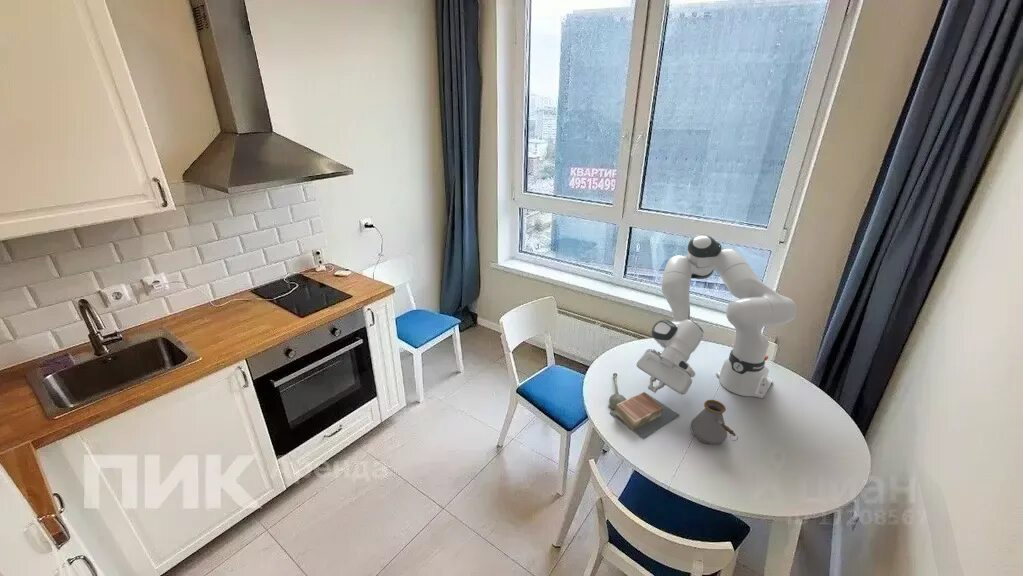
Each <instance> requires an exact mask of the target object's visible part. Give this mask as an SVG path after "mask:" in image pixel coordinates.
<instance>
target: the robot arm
mask: <svg viewBox="0 0 1023 576" xmlns="http://www.w3.org/2000/svg"><path fill="white" fill-rule="evenodd" d="M714 271H715V272H716V273H717V274H718V275H719V277H720V279H721V280H722V282H723V284H724V285H725V287H726V288H727V290H728V291H729V294H731V296H733V297H735V298H737V299H735V300H731V301H730V302H729V303H728V304H727V306H726V309H725V315H726V318H727V321H728V322H729V323H730V325H732V326H733V327H734V329H735V340H734V343H733V347H732V349H731V351H730V352H729V355H728V358H726V359H725V360H724V361H723V364H722V367H721V370H718V371H716V376H717V378H718V379H719V383H720V384H721V386H723V388H724V389H726V390H727V391H729V392H731V393H733V394H736V395H739V396H744V397H756V398H760V399H761V398H762V399H763V398H764V397H765V396H766V394H767V392H768V391H769V389H770V387H771V386H770V385H772V384H773V379H772V378H771V377H770V376H768V375H769V372H770V370H769V368H768V367H767V366H766V361H767V360H768V359H769V355H767V352H768V349H769V346H770V342H769V340H768V338H767V336H766V335H764V334H763V333H762V330H763V328H764V327H770V326H771V327H772V326H781V325H785V324H787V323H790V322H792V321H794V320H795V318H796V317H797V314H798V307H797V304H796V303H795V302H794V300H793V299H791V298H790V297H787V296H785V295H782V294H780V293H778V292H776V290H773V289H772V288H770V287H769V286H768V285H767V284H765V282H763V281H762V280H761V279H760V278H759V277H758V276H757V274H756V273H755V271H754V270H753V268H752V267H751V266H750V264H749V263H748V262H747V260H746V259H745V258H744V257H743V256H742V255H741V254H740V253H739V252H738V251H736V250H735V249H732V248H726V249H722V244H721V243H719V242H717V241H716V240H715V239H714V237H712V236H710V235H708V234H697V235H695V236H693V237H692V238H691V239H689V242H688V245H687V252H686V254H685V255H674V256H672V257H670V258H669V259H668V261H667V263H666V265H665V268H664V270H663V274H662V279H661V285H660V287H661V292H662V295H663V296H664V298H665V300H666V301H667V304H668V305H669V307H670V309H671V311H672V320H669V319H666V318H665V319H661V320H658V321H656V322H655V324H654V325H653V326H652V328H651V333H650V334H651V336H652V338H653V339H654V341H655V342H657V344H658V345H659V346H660V347H661V348H662V349H663V350H662V351H661V352H662V353H659V352H660V351H657V350H655V349H653V348H649V349H647V350H645V352H644V353H643V355H642V356H641V357H640V358H639V359H638V360H637V362H636V367H637V368H638V370H641V371H642V372H643V373H645V374H647V375H648V376H650V377H649V384H648V386H647V389H648V390H650V391H651V392H652V393H654V394H656V393H657V392H658V391H659V390H660V389H662V388H663V389H664V387H665V386H666V387H668V388H669V389H671V390H672V391H675V392H676V393H678V394H679V395H680V396H684V395H685V394H687V393H688V391H689V389H690V388H691V386H692V385H693V383H692V382H693V378H694V377H695V376H696V372H695V371H694V369H693V367H691V365H690V364H689V363H688V361H689V360H690V357H691V355H692V353H694V352H695V351H696V349H697V348H698V347H699V345H700V344H701V341H702V339H703V337H704V333H705V332H704V329H703V328H702V327H700V325H699V324H698V323H696V322H695V321H693V320H692V319H691V318H690V317H691V305H690V304H691V303H690V302H691V301H690V290H691V289H690V288H691V282H692V279H694V280H695V279H696V280H704V279H708V278H709V277H711V276H712V274H713V273H714ZM655 353H656V354H655ZM657 381H658V385H656V386H655V385H654V383H655V382H657ZM771 383H772V384H771Z"/></svg>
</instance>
